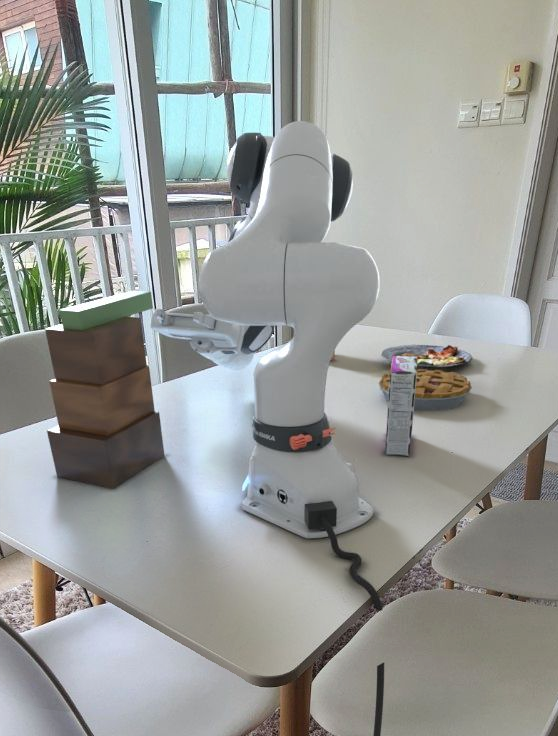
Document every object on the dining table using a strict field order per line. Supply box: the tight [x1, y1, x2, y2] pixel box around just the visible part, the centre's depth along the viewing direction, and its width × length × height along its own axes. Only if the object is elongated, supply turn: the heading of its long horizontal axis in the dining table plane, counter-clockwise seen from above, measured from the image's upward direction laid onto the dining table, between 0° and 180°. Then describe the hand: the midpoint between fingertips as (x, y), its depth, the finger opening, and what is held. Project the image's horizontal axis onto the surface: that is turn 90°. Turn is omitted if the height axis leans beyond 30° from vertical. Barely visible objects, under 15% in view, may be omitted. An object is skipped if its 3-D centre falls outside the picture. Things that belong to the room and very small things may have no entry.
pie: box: [377, 368, 473, 411], centre depth 148 cm, size 22×22×5 cm
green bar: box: [59, 290, 154, 331], centre depth 108 cm, size 20×4×3 cm, turn 155°
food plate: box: [381, 344, 473, 369], centre depth 175 cm, size 25×23×4 cm
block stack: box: [44, 316, 165, 489], centre depth 111 cm, size 16×13×26 cm
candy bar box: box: [384, 356, 418, 457], centre depth 119 cm, size 11×5×16 cm, turn 168°
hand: (176, 314), depth 127 cm, fingers open, 8 cm apart
